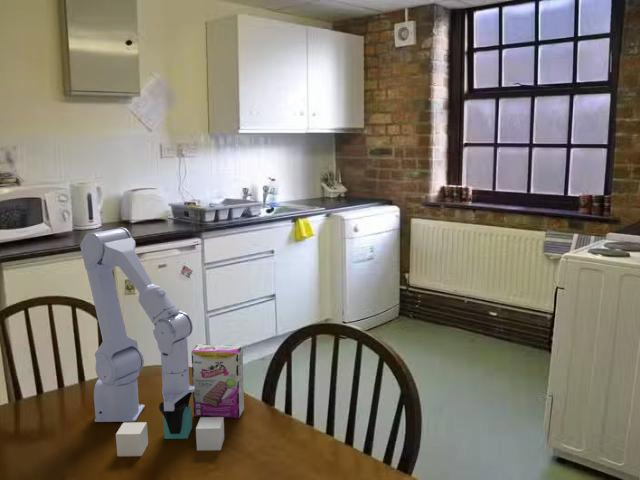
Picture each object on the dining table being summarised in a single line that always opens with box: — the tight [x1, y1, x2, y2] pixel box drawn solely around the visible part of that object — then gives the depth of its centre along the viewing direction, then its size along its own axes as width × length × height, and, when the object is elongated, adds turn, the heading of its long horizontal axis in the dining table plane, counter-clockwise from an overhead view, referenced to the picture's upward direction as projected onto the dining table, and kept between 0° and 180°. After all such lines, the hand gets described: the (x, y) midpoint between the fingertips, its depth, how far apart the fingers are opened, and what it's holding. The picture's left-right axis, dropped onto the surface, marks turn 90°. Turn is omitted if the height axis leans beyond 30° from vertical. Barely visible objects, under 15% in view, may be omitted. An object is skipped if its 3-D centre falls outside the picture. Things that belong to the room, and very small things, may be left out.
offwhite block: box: [115, 421, 149, 457], centre depth 126 cm, size 5×5×5 cm
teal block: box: [162, 406, 193, 440], centre depth 133 cm, size 5×5×5 cm
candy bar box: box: [191, 343, 245, 419], centre depth 141 cm, size 11×5×16 cm, turn 84°
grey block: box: [195, 417, 225, 451], centre depth 128 cm, size 5×5×5 cm
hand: (178, 426), depth 133 cm, fingers closed on teal block, 5 cm apart
